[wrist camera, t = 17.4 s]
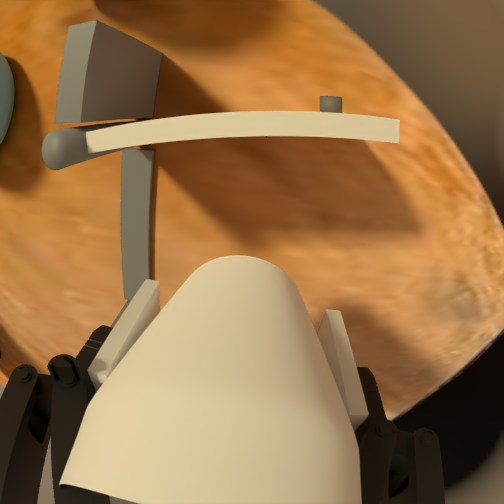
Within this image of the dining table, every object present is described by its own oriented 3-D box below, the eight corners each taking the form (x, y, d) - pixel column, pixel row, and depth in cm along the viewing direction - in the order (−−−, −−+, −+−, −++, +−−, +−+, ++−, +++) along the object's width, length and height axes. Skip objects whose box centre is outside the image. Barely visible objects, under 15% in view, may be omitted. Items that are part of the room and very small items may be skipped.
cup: (201, 374, 19) (162, 542, 8) (134, 259, 15) (-1, 449, 4) (337, 347, 17) (369, 541, 6) (300, 207, 13) (370, 494, 3)
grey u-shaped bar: (128, 315, 32) (83, 391, 21) (136, 54, 20) (52, 24, 9) (151, 320, 32) (112, 401, 21) (167, 53, 20) (95, 14, 9)
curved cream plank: (153, 137, 23) (88, 153, 13) (151, 110, 22) (84, 111, 12) (348, 132, 22) (398, 143, 12) (348, 104, 21) (399, 96, 11)
